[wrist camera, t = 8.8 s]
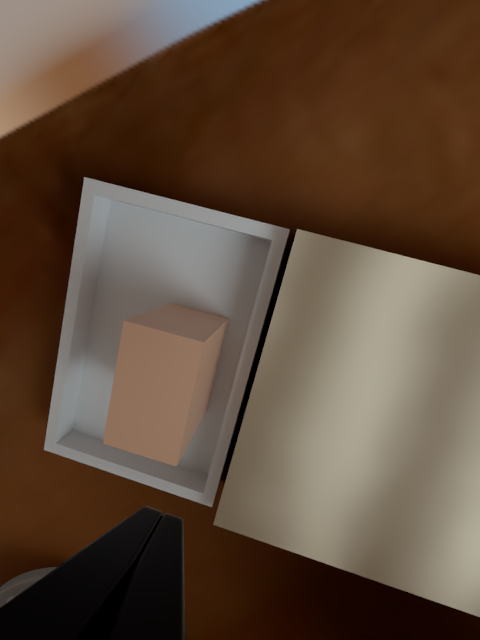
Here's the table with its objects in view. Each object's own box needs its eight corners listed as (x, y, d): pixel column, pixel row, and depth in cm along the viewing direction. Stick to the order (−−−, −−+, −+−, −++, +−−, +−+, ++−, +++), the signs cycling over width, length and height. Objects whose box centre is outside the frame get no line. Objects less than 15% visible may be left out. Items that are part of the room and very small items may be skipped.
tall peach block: (203, 342, 12) (123, 320, 12) (176, 466, 13) (102, 443, 13) (229, 318, 16) (172, 303, 17) (207, 409, 17) (154, 393, 18)
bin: (289, 232, 16) (289, 229, 14) (219, 481, 19) (211, 507, 17) (108, 186, 17) (84, 176, 15) (68, 430, 20) (43, 449, 18)
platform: (656, 326, 14) (750, 344, 11) (519, 581, 17) (566, 647, 14) (295, 234, 16) (297, 228, 13) (225, 483, 19) (213, 524, 16)
